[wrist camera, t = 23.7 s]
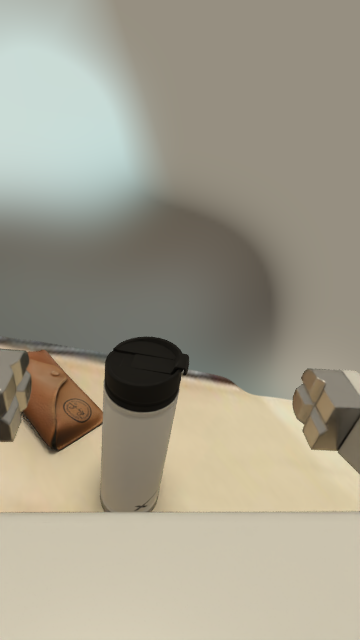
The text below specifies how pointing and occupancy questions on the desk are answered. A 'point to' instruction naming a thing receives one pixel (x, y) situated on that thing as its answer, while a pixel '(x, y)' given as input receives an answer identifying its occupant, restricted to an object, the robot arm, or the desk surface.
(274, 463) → the desk surface
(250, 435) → the desk surface
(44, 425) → the sunglasses case
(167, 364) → the travel mug
